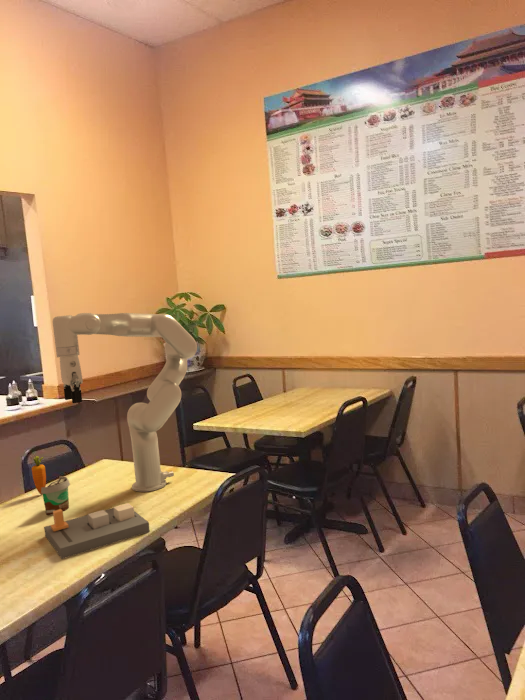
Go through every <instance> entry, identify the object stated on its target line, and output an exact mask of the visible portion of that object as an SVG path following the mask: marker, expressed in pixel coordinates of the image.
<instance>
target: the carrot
mask: <svg viewBox="0 0 525 700" xmlns="http://www.w3.org/2000/svg"><path fill="white" fill-rule="evenodd" d="M43 459H44V456H42V457H40V456H38V455H36V456H34V457H33V461H34V464H35V465H34V466H32V467H31V473H32V475H31V476H32V480H33V483H34V485H35V488H36V490H37V492H38V493H39V494H40V495H41V496H43V494H41V487H47V486H46V485H47V473H46V466H45V465H44V464H41V462H42V460H43Z"/></svg>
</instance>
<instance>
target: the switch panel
mask: <svg viewBox="0 0 525 700" xmlns="http://www.w3.org/2000/svg"><path fill="white" fill-rule="evenodd" d="M103 510H104V511H105V512H106V513H108V516H109V525H106V526H102V527H99V528H96V529H91V528H90V527H89V519H88V514H86V515H83V516H79V517H75V518H72V519H68V520H64V522H65V521H66V523H67V524H68V525H69V527H68V528H65V529H61V530H58V531H53V530H52V529H51V525H54V523H52V524H50V525H46V526H43V528H44V536H45V538H46V539H47V541H48V542H49V544H50V545H51V546H52V547H53V549H54V550H55V552H56V553H57V554H58V556H59V557H60V559H61V560H63V559H66V558H69V557H72V556H75V555H78V554H81V553H85V552H86V553H87V552H89V551H91V550H95V549H98V548H101V547H104V546H108V545H110V544H114V543H117V542H120V541H121V542H122V541H123V540H126V539H127V540H128V539H131V538H134V537H137V536H140V535H143V534H147V533H150V523H149V521H148V520H146V519H145V518H144V517H143V516H141V514H139V513H138V512H136V511H135V510H134V516H135V517H133V518H130V519H127V520H123V521H120V522H118V521H117V520H116V519H115V516H114V507H111V508H108V509H103Z"/></svg>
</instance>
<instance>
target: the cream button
mask: <svg viewBox="0 0 525 700" xmlns="http://www.w3.org/2000/svg"><path fill="white" fill-rule="evenodd" d="M113 508H114V516H115V519H116V520H117V521H118V522H120V521H123V520H127V519H130V518H133V517H135V516H134V511H135V509H134V506H133V505H131V504H130V503H129V502H127V503H124V504H123V503H122V504H120V505H117V506H113Z"/></svg>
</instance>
